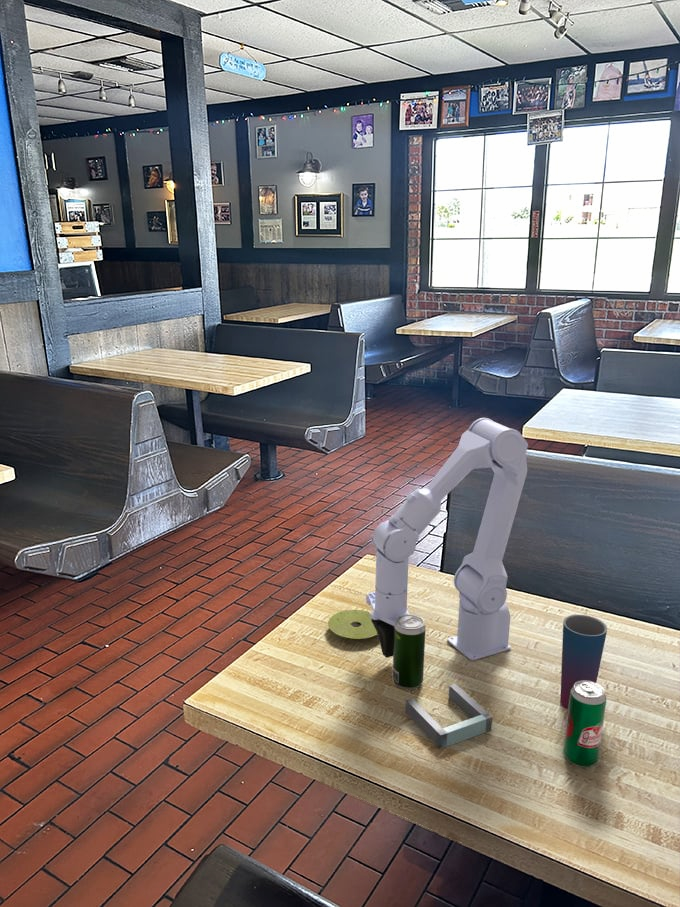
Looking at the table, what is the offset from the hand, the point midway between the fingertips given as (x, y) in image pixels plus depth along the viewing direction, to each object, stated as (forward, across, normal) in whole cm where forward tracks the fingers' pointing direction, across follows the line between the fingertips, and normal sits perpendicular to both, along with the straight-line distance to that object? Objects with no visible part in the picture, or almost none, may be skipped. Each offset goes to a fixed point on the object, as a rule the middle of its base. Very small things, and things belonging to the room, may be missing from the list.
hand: (389, 654), depth 131 cm
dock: (+2, +18, 0) cm, 18 cm away
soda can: (+2, +34, +13) cm, 37 cm away
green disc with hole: (+2, -13, 0) cm, 13 cm away
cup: (+2, +24, +22) cm, 33 cm away
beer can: (+2, +6, 0) cm, 7 cm away
